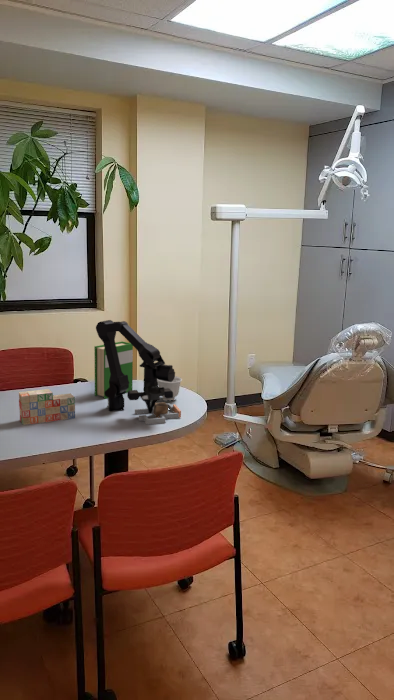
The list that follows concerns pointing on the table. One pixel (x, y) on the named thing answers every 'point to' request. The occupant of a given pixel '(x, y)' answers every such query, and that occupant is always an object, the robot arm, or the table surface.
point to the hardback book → (103, 368)
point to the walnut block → (160, 409)
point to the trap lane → (162, 416)
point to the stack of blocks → (45, 406)
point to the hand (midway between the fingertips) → (149, 413)
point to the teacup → (171, 386)
